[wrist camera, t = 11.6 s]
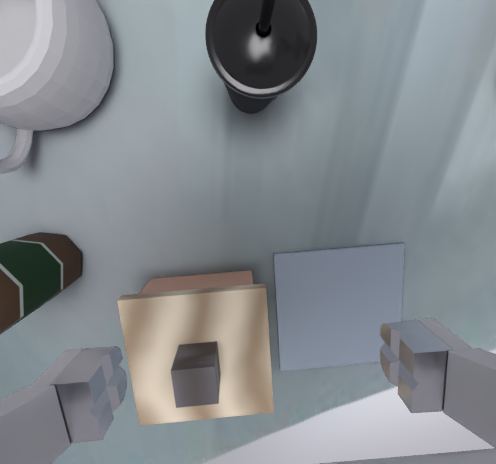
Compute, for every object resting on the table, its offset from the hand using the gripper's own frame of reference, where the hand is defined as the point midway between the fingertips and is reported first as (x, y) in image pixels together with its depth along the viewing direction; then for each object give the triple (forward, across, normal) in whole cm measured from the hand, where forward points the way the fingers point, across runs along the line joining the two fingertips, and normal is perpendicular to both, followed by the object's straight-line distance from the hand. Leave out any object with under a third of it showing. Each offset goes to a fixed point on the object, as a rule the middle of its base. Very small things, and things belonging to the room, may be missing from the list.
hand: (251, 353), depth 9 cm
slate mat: (+28, -12, +14) cm, 33 cm away
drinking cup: (+28, -2, -14) cm, 31 cm away
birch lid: (+20, +6, +14) cm, 25 cm away
